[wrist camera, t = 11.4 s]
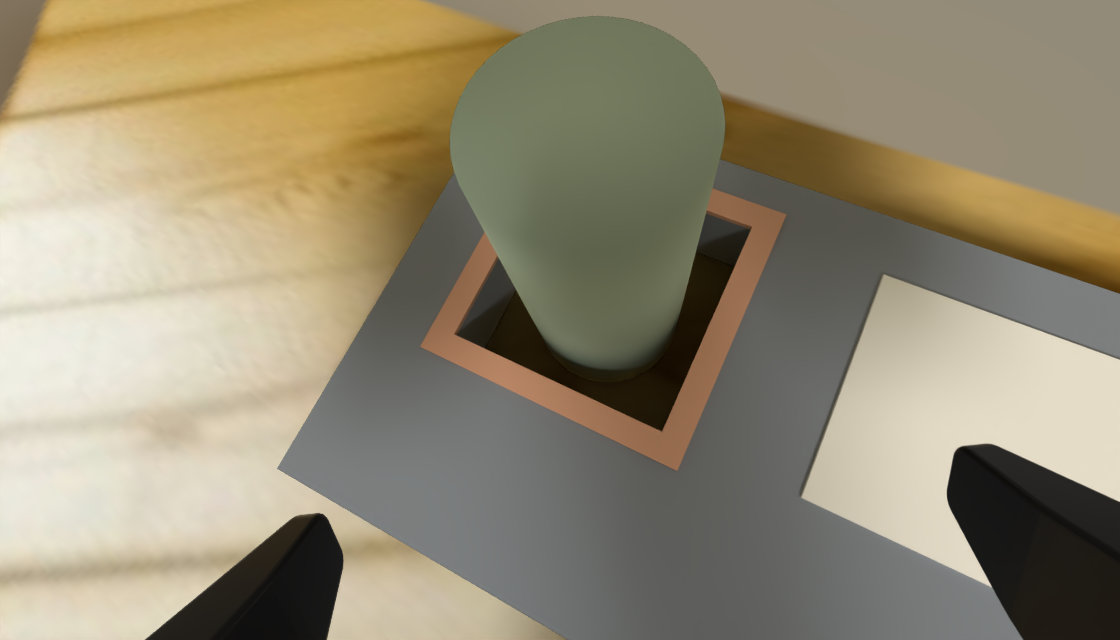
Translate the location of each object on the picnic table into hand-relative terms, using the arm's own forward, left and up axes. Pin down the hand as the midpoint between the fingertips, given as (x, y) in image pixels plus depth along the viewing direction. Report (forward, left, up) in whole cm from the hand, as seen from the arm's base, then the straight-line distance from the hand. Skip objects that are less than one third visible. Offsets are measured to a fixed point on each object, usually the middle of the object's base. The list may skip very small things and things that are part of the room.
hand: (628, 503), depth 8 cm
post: (+2, +6, -11) cm, 13 cm away
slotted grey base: (+4, +1, -11) cm, 12 cm away
